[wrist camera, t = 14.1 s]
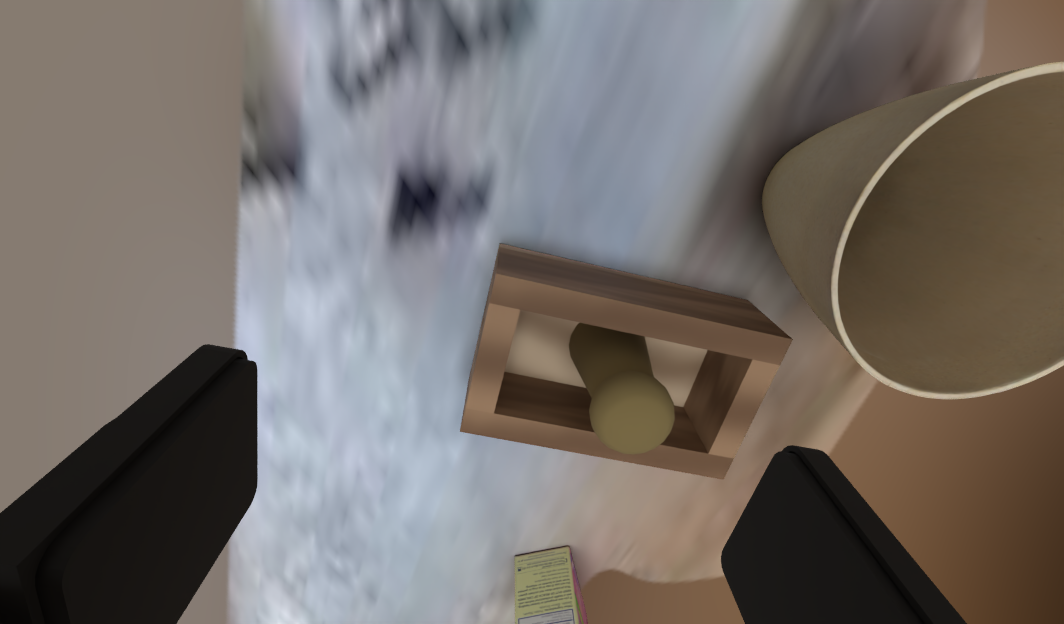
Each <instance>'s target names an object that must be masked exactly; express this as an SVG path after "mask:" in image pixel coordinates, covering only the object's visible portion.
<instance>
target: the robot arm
mask: <svg viewBox="0 0 1064 624" xmlns="http://www.w3.org/2000/svg"><path fill="white" fill-rule="evenodd" d="M256 488H257V365H256V363H255V362H254V361H249V360H248V359H247V355H246V353H245V352H244V351H243V350H238V349H232V348H225V347H220V346H215V345H209V344H208V345H203V346H201V347H200V348H199V349H197V350H196V351H195V352H194V353H192V354H191V355H190V356H189V357H188V358H187V359H185V360H184V361H183V362H182V363H181V364H180V365H178V366H177V367H176V368H175V369H174V370H172V371H171V372H170V373H169V374H168V375H166V376H165V377H164V378H163V379H162V380H161V381H159V382H158V383H157V384H156V385H155V386H153V387H152V388H151V389H150V390H149V391H148V392H146V393H145V394H144V395H143V396H142V397H140V398H139V399H138V400H137V401H136V402H135V403H134V404H132V405H131V406H130V407H129V408H128V409H126V410H125V411H124V412H123V413H122V414H120V415H119V416H118V417H117V418H115V419H114V420H112V421H111V422H109V423H108V424H106V425H105V426H103V427H102V428H101V429H100V430H99V431H98V432H96V433H95V434H94V435H93V436H92V437H90V438H89V439H88V440H87V441H86V442H85V443H83V444H82V445H81V446H80V447H78V448H77V449H76V450H75V451H74V452H72V453H71V454H70V455H69V456H68V457H67V458H65V459H64V460H63V461H62V462H61V463H59V464H58V465H57V466H56V467H55V468H53V469H52V470H51V471H50V472H49V473H48V474H46V475H45V476H44V477H43V478H42V479H41V480H39V481H38V482H37V483H36V484H34V486H32V487H31V488H30V489H29V490H28V491H26V492H25V493H24V494H23V495H21V496H20V497H19V498H18V499H17V500H15V501H14V502H13V503H12V504H11V505H10V506H8V507H7V508H6V509H5V510H4V511H2V512H1V513H0V624H177V622H178V620H179V618H180V617H181V616H182V614H183V612H184V611H185V609H186V608H187V606H188V604H189V603H190V601H191V600H192V598H193V596H194V595H195V593H196V592H197V590H198V588H199V587H200V585H201V584H202V582H203V580H204V579H205V577H206V576H207V574H208V572H209V571H210V569H211V567H212V566H213V564H214V563H215V561H216V559H217V558H218V556H219V555H220V553H221V551H222V550H223V548H224V547H225V545H226V544H227V542H228V540H229V539H230V537H231V535H232V534H233V532H234V531H235V529H236V527H237V526H238V524H239V523H240V521H241V519H242V518H243V516H244V515H245V513H246V511H247V510H248V508H249V507H250V505H251V503H252V501H253V498H254V496H255V493H256ZM721 564H722V569H723V572H724V575H725V577H726V579H727V582H728V584H729V586H730V589H731V591H732V594H733V596H734V598H735V601H736V603H737V605H738V608H739V610H740V613H741V615H742V617H743V620H744V622H745V624H967V623H966V622H965V621H964V620H963V619H962V617H961V616H960V615H959V614H958V612H957V611H956V610H955V609H954V608H953V606H952V605H951V604H950V603H949V601H948V600H947V599H946V598H945V597H944V595H943V594H942V593H941V592H940V591H939V589H938V588H937V587H936V586H935V585H934V583H933V582H932V581H931V580H930V579H929V577H928V576H927V575H926V574H925V572H924V571H923V570H922V569H921V568H920V566H919V565H918V564H917V563H916V562H915V561H914V559H913V558H912V557H911V556H910V554H909V553H908V552H907V551H906V549H905V548H904V547H903V546H902V545H901V543H900V542H899V541H898V540H897V539H896V537H895V536H894V535H893V534H892V533H891V531H890V530H889V529H888V528H887V527H886V525H885V524H884V523H883V522H882V520H881V519H880V518H879V517H878V516H877V514H876V513H875V512H874V511H873V510H872V508H871V507H870V506H869V505H868V504H867V502H866V501H865V500H864V499H863V498H862V497H861V495H860V494H859V493H858V491H857V490H856V489H855V488H854V487H853V486H852V484H851V483H850V482H849V481H848V479H847V478H846V477H845V476H844V475H843V473H842V472H841V471H840V470H839V468H838V467H837V466H836V465H835V464H834V463H833V461H832V460H831V459H830V458H829V456H828V455H827V454H826V453H824V452H823V451H820V450H817V449H811V448H805V447H799V446H793V445H792V446H787V447H786V448H784V449H783V450H782V451H781V452H778V453H776V454H775V455H774V456H773V458H772V460H771V462H770V464H769V465H768V467H767V469H766V471H765V473H764V475H763V476H762V478H761V480H760V482H759V484H758V486H757V487H756V489H755V491H754V493H753V495H752V497H751V499H750V500H749V502H748V504H747V506H746V508H745V510H744V511H743V513H742V515H741V517H740V519H739V521H738V523H737V524H736V526H735V528H734V530H733V532H732V534H731V535H730V537H729V539H728V541H727V543H726V545H725V546H724V548H723V551H722V555H721Z"/></svg>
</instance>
